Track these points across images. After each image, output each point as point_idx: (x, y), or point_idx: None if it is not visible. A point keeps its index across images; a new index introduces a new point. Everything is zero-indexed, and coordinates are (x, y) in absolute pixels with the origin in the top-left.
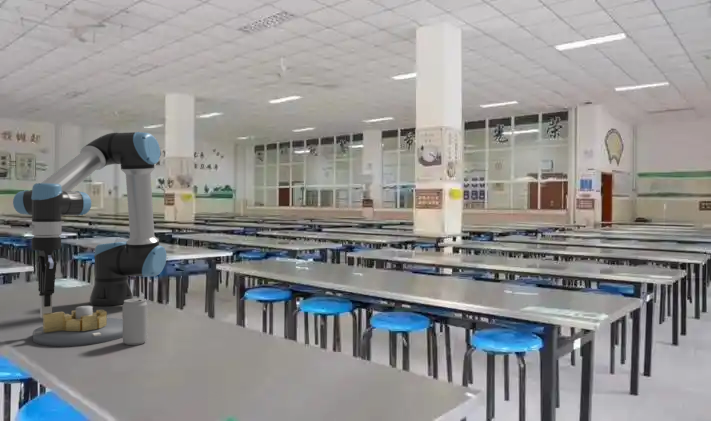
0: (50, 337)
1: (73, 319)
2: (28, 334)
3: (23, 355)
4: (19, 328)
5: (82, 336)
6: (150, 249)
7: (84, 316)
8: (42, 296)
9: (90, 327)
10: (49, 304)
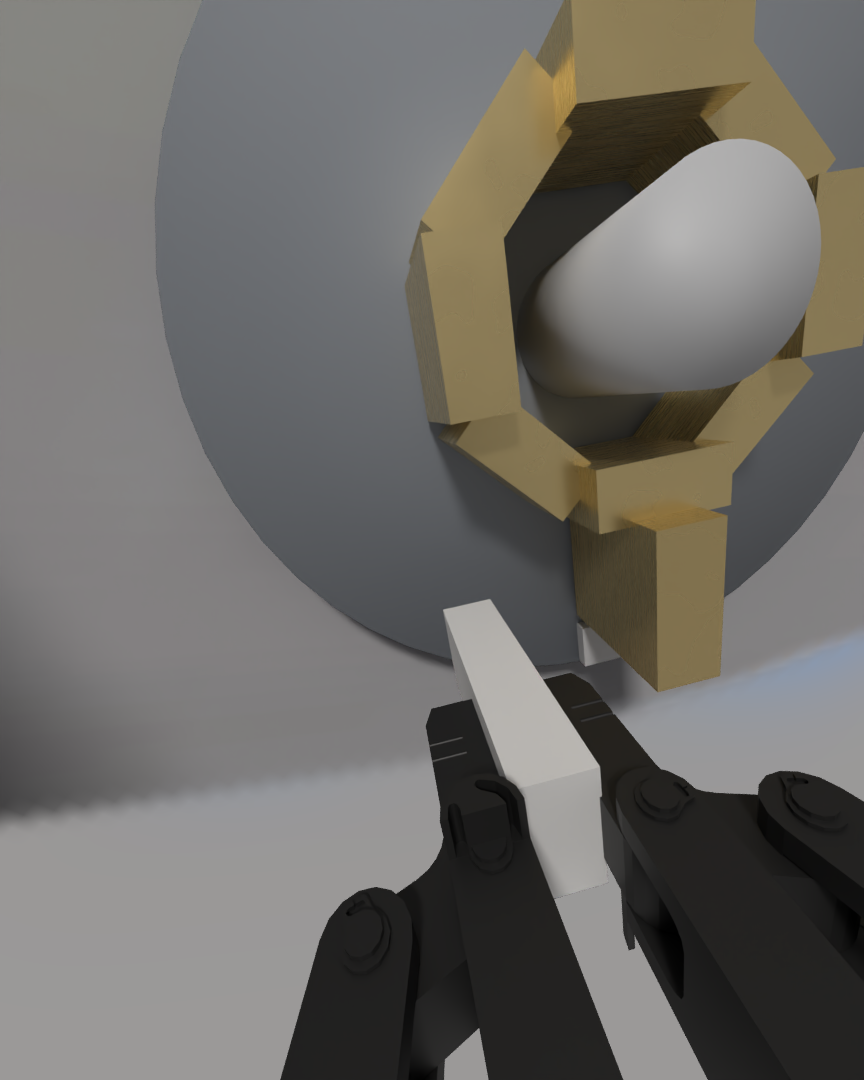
0: (739, 566)
1: (722, 424)
2: (362, 673)
3: (811, 654)
4: (136, 739)
5: (850, 376)
6: None
7: (847, 319)
8: (601, 860)
9: None
10: (592, 695)
